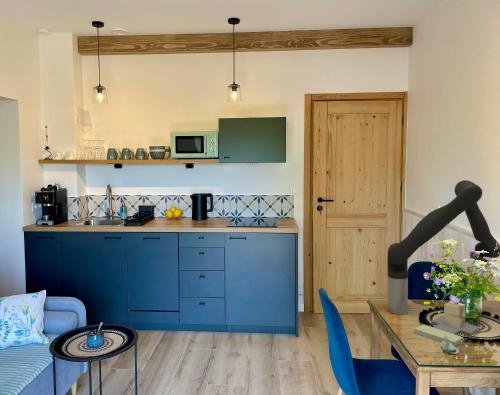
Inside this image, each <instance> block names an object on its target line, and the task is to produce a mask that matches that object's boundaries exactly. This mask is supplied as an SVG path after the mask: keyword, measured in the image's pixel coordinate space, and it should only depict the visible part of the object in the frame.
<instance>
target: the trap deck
mask: <svg viewBox="0 0 500 395" xmlns="http://www.w3.org/2000/svg"><path fill="white" fill-rule="evenodd" d="M431 325H435V326H434V327H432V326H431ZM481 329H482V328H481V327H480V326H476V325H474V324H470V323H466V322H465V325H463V326H462V327H460V328H455V327H452V326H449V325H446V324H444V315H441V316H439V317H435V318H434V319H431V320H430V324H429V325H427V324H421V325H419V326H417V327H415V328H414V334H416V335H419V336H421V337H425V338H427V339H430V340H432V341H437V342H439V343H441V342H442V341H445V340H444V336H445V335H447V336H448V339H449V342H450V343H452V344H453V345H454V346H455V347H457V346H459V345H461V344H463V343H464V342H466V341H467V340H469V339H468V338H463V337H461V336H458V334H460V333H461V334H464V335H467V336H472V335H474V334H476V335H477V333H478V334H480V333H481ZM479 332H480V333H479ZM474 336H475V335H474Z"/></svg>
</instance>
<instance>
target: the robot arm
mask: <svg viewBox="0 0 500 395" xmlns="http://www.w3.org/2000/svg"><path fill="white" fill-rule="evenodd" d="M454 194H455V196H456V197H454V198H453V199H452V200H451V201H450V202H448V203H447V204H446V205H443V206H441V207H439V208H436V209H434V210H431V211H430V212H428V213H427V215H425V216H424V217H423V218H422V219H420V220H419V222H418V223H417V224H416V225H415V226H414V227H413V229H412V230H411V231H410V232H409V233H408V235H407V236H406V237H405V238H404V239H402V240H401V241H399V242H394V243H391V244H390V246H388V248H387V256H386V258H387V260H386V261H387V262H386V263H387V267H386V268H387V311H388V312H389V313H391V314H395V315H405V314H408V311H409V310H408V307H409V304H408V302H409V299H408V298H409V297H408V295H409V294H408V293H409V291H408V290H409V288H408V287H409V286H408V285H409V284H408V283H409V280H408V277H409V276H408V275H409V274H408V272H409V270H408V269H409V267H408V260H409V259H410V257H412V255H413V254H414V253H416V251H417V250H418V249H419V248H421V247H422V246H423V245H425V244H426V243H428V242H429V241H430V240H431V239H432V238H434V237H435V236H436V235H438V234H439V233H440V232H441V231H442V230H443V229H445V228H446V227H447V225H449V224H450V223H452V221H454V220H455V219H456V218H457V217H458V216H460V215H461V214H462V213H465V215H466V218H467V220H468V223H469V225H470V226H469V227H470V229H471V232H472V236H473V237H474V239H475V241H477V242H478V243H476V244H475V246H474V249H473V250H474V251H482V250H484V251H487V252H489V253H484V254H483V253H480V255H479V257H478V258H477V260H481V261H484V262H487V261H489V260H488V259H486V258H491V259H496V258H498V257H499V256H500V254H498V252H499V253H500V244H499V243H498V241H497V240H496V239H495V237H494V235H492V233H491V230H490V227H489V224H488V222H487V219H486V218H485V216H484V214H483V212H482V211H481V208H480V207H479V205H478V202H479V201H480V200H481V199H482V196H483V189H482V187H481V186H479V185H478V184H476V183H474V182H473V181H472V180H471V181H470V180H466V179H465V180H464V179H463V180H461V181H458V182H457V183H456V184H455V187H454ZM496 243H497V244H498V249H497V250H495V251H494V249H495V247H496ZM471 266H472V264H471V265H470V267H471ZM484 300H485V298H484V299H482V301H484ZM482 301H481V302H482Z"/></svg>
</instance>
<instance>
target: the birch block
mask: <svg viewBox="0 0 500 395" xmlns="http://www.w3.org/2000/svg"><path fill="white" fill-rule="evenodd" d="M452 301H453V300H450V301H448V302H446V303H444V307H443V308H444V309H443V312H444V313H443V317H444V324H446V325H449V326H452V327H455V328H460V327H462V326H463V325H465V323H466V311H465V304H462V303H461V302H458V303H459V304H455V303H454V302H455V301H454V302H452Z"/></svg>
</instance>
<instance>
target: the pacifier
mask: <svg viewBox="0 0 500 395" xmlns="http://www.w3.org/2000/svg"><path fill="white" fill-rule="evenodd" d="M444 340H445V341H442V342H440V346H441V348H442V351H444V352H446V353H449V354H452V355H458V354H459V353H460V350H459V349H458V348H457V346H454V345H453V344H452V343H450V342H449V339H448V336H447V335H445V336H444Z"/></svg>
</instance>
